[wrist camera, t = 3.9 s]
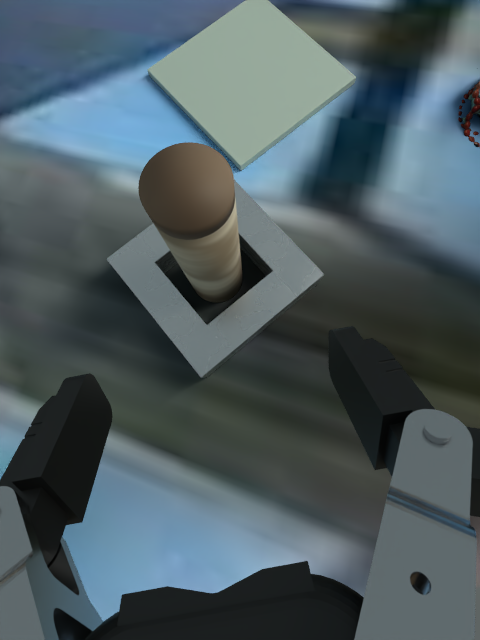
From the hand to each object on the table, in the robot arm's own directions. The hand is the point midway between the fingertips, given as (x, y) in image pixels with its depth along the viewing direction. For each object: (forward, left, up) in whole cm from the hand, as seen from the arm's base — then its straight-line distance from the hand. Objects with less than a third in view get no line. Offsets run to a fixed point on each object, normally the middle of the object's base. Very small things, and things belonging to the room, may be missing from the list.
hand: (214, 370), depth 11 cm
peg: (-4, -7, -13) cm, 15 cm away
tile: (-18, -19, -13) cm, 29 cm away
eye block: (-4, -7, -13) cm, 15 cm away
